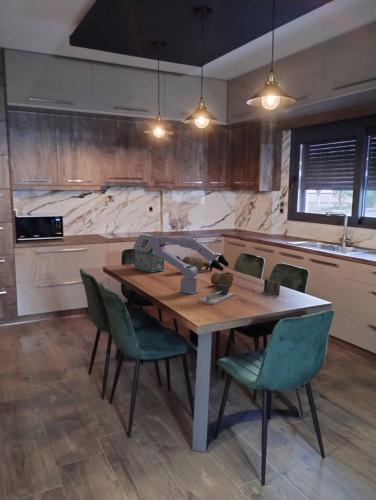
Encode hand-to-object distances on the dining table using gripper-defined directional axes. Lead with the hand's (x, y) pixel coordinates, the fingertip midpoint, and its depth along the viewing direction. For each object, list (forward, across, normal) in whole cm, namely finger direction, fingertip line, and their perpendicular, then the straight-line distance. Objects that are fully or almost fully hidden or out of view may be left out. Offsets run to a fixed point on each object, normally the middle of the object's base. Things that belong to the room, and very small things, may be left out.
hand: (225, 267), depth 233 cm
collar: (+7, -3, +14) cm, 16 cm away
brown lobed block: (+3, +16, +23) cm, 28 cm away
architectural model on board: (+30, +20, +7) cm, 37 cm away
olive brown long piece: (-25, +46, +48) cm, 71 cm away
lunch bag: (-53, +34, +64) cm, 90 cm away
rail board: (+7, -9, +15) cm, 19 cm away
